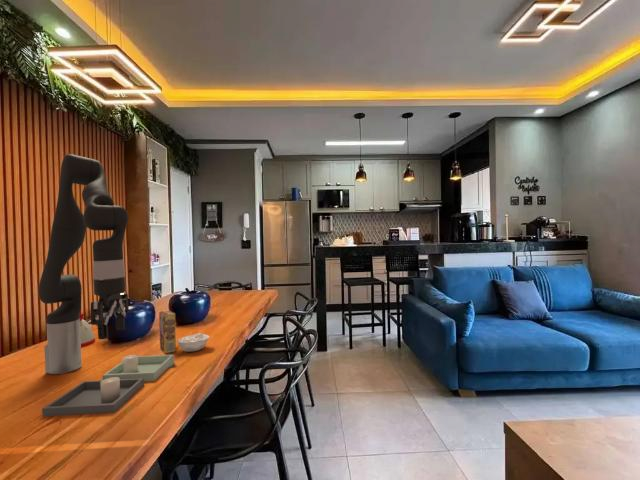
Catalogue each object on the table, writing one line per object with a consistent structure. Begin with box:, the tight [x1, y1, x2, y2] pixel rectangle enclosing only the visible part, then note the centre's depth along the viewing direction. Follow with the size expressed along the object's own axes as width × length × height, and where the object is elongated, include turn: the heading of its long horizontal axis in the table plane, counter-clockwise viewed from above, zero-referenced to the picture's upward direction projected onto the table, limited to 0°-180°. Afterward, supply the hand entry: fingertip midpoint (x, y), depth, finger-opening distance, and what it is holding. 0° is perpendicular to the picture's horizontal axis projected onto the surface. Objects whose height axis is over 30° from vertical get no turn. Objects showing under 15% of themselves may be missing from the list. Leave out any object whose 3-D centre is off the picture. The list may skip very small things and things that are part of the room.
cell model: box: [177, 332, 210, 353], centre depth 131 cm, size 10×12×7 cm
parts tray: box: [41, 378, 145, 417], centre depth 91 cm, size 18×16×3 cm
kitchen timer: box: [80, 311, 96, 348], centre depth 144 cm, size 14×14×15 cm
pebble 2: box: [121, 354, 139, 373], centre depth 109 cm, size 4×4×5 cm
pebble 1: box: [100, 377, 120, 403], centre depth 91 cm, size 4×4×5 cm
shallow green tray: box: [101, 354, 175, 383], centre depth 109 cm, size 16×16×4 cm
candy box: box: [158, 310, 177, 354], centre depth 133 cm, size 9×4×15 cm, turn 39°
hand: (112, 334), depth 92 cm, fingers open, 8 cm apart
